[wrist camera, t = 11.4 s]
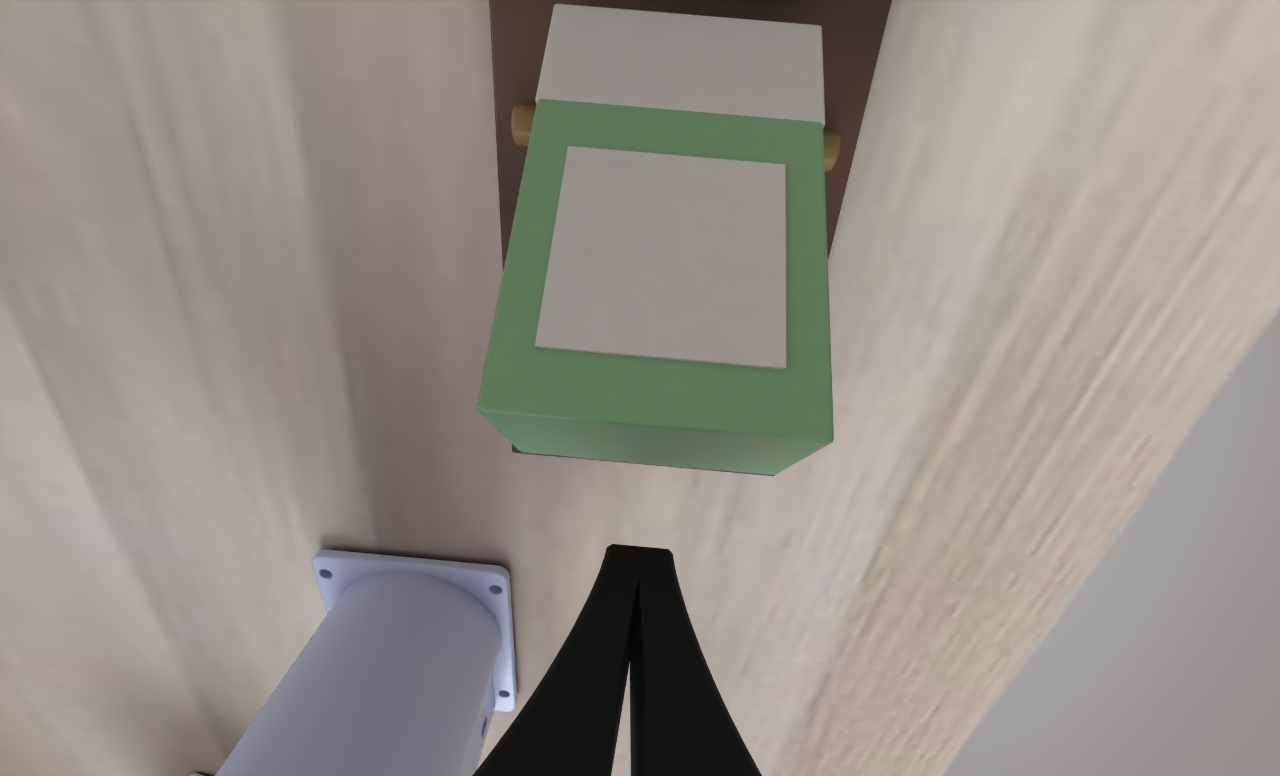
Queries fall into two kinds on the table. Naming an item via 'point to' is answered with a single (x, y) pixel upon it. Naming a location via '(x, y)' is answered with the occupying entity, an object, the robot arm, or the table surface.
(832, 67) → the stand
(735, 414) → the block
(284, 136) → the table surface
